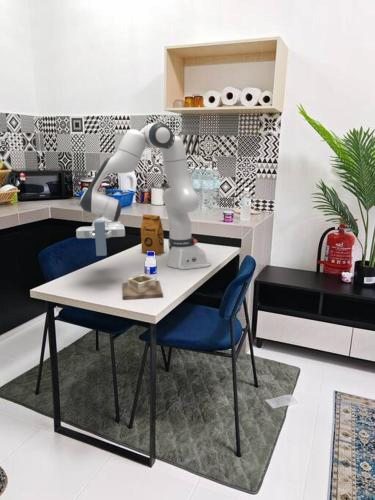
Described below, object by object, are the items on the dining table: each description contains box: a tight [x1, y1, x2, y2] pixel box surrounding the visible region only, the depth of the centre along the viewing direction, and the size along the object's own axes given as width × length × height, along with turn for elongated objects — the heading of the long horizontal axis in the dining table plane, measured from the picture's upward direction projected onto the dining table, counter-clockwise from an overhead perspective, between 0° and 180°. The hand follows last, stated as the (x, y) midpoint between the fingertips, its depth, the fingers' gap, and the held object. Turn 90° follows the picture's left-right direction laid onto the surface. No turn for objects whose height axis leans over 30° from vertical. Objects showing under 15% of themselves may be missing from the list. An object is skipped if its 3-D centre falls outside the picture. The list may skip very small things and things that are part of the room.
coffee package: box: [140, 213, 165, 256], centre depth 220 cm, size 10×12×22 cm
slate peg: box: [93, 220, 108, 257], centre depth 161 cm, size 4×4×14 cm
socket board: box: [121, 274, 164, 301], centre depth 164 cm, size 16×16×6 cm
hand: (100, 236), depth 160 cm, fingers closed on slate peg, 4 cm apart
